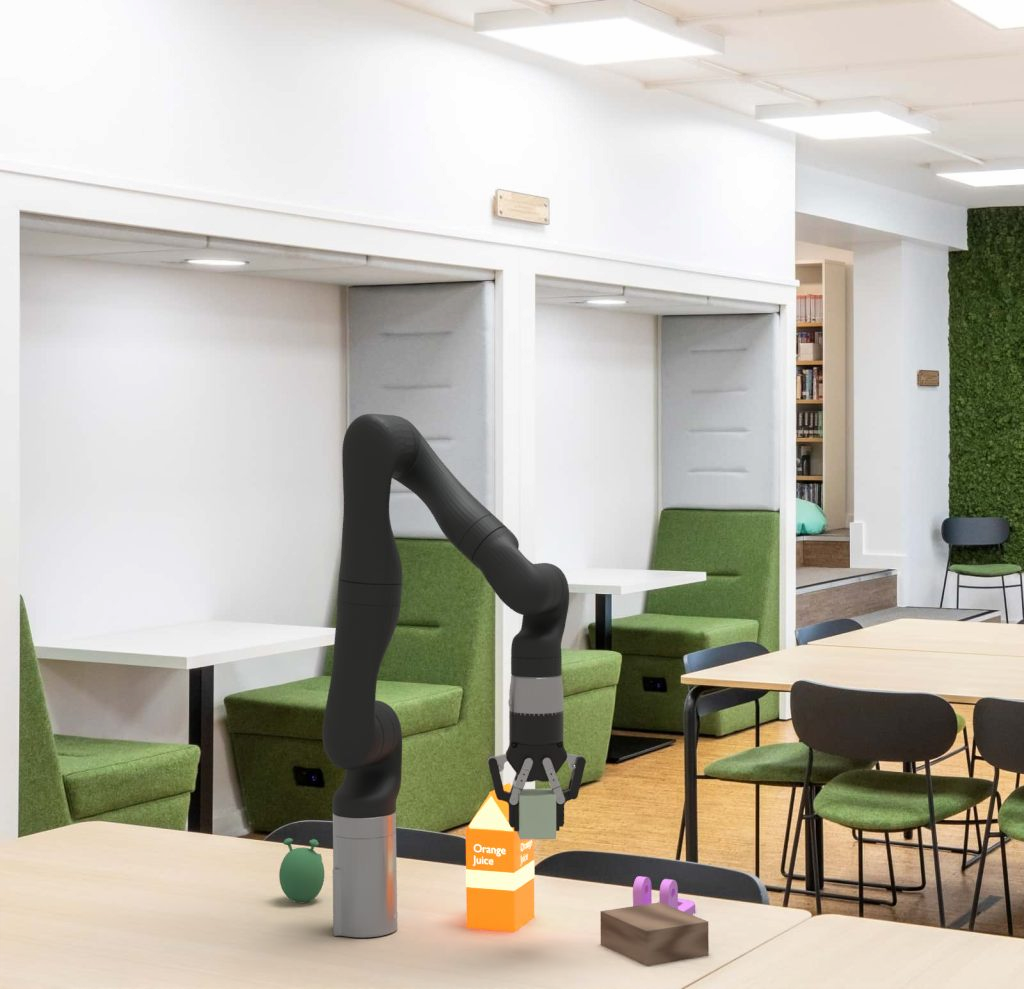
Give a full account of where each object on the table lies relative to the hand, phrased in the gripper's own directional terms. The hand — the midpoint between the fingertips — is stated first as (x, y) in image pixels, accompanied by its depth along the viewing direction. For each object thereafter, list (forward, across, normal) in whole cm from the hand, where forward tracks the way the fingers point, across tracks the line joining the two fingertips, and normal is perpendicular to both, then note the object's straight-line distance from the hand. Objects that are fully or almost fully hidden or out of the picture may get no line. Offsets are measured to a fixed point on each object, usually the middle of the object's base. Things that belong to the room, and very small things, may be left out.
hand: (536, 829), depth 225 cm
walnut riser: (+17, +16, -1) cm, 24 cm away
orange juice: (+17, -4, +16) cm, 24 cm away
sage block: (+1, 0, 0) cm, 1 cm away
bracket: (+17, +21, +16) cm, 32 cm away
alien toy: (+18, -34, +32) cm, 50 cm away
